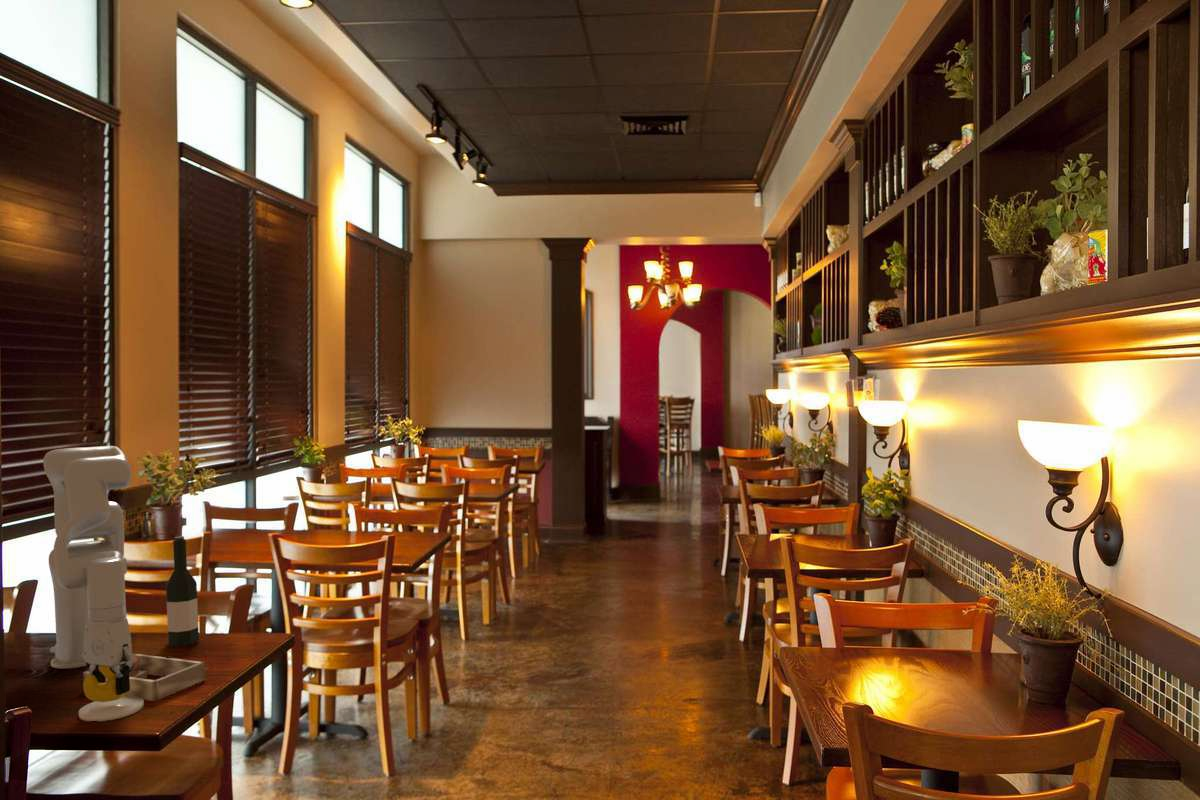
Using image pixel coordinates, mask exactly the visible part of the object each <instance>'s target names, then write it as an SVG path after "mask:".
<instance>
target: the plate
mask: <svg viewBox="0 0 1200 800" xmlns="http://www.w3.org/2000/svg"><path fill="white" fill-rule="evenodd" d="M144 701H145V700H143V699H142V698H141V697H137V696H123V697H121V698H120V699H118V700H115V701H108V702H97V701H92V702H90V703H87V704H85V705H83V706H82V707H81V708H80V709H79V710H78V718H79V720H82V721H85V722H91V721H98V722H107V720H108V721H113V720H117V719H122V718H126V717H128V716H132V715H135V714H136V713H138V712H139V711H142V709H143V708H144V706H145V702H144Z"/></svg>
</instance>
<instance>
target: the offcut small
mask: <svg viewBox="0 0 1200 800" xmlns="http://www.w3.org/2000/svg"><path fill="white" fill-rule="evenodd" d="M137 673H139V665H138V666H137V667H136V668H135V669H133V670H132V671H131V674H129V677H131V676H133V675H135V674H137Z"/></svg>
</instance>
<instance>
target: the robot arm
mask: <svg viewBox="0 0 1200 800" xmlns="http://www.w3.org/2000/svg"><path fill="white" fill-rule="evenodd" d="M42 461H43V468H44V473H45V476H47V478H48V481H49V482H50V484H51V487H52V490H53V495H54V496H53V497H54V498H53V499H54V501H53V503H54V505H53V507H54V515H53V516H54V530H55V534H56V537H55V539H54V544H53V549H52V550H51V551H50V553H49V555H48V567H49V571H50V576H51V581H52V586H53V597H54V598H53V599H54V600H53V601H54V617H55V620H54V621H55V639H56V643H55V645H54V646H52V647H50V648H49V653H53V654H54V655H55V657H54V658H52V659H51V660H50V666H51V667H52V668H54V669H60V670H61V669H77V668H81V667H82V668H83V667H87V668H88V671H89V673H90V674H91V673H92V674H91V675H94V676H95V677H96V679H97V681H98V683H105V676H104V675H103V674H102V673H101V672H100V671H99V668H98V666H99V665H100V666H107V667H114V668H115V671H116V673H117V676H118V677H116V678H115V683H116V695H121V694H123V693H126V692H128V691H129V690H130V680H129V674H131V671H132V669H133V668H134V666H135V664H136V663H137V661H138V659H137V658H136V657H135V655H134V654H135V653H133V648H132V636H131V632H130V631H131V629H130V625H129V621H128V618H127V604H126V603H127V601H126V583H125V582H126V581H125V578H126V574H127V572H128V564H127V558H126V556H125V527H124V526H125V521H124V514H123V513H124V512H123V509H122V507H121V506H120V504H119V503H118V502H116V501H112V500H109V495H108V491H111V490H124V489H126V488H128V487H129V486H130V484H131V482H132V468H131V464H130V462H129V459H128V457H127V456H126V455H125V453H123V451H122V450H121V449H120V448H119V447H118V446H114V445H102V446H101V445H100V446H85V447H84V446H82V447H79V446H78V447H67V448H65V447H64V448H58V449H57V448H56V449H53V450H50V451H48V452H47V453H45V454H44V457H43V460H42ZM100 538H101V539H100ZM102 538H103V539H102ZM92 539H96V540H92ZM82 540H84V541H82ZM85 540H87V541H85ZM73 541H79V542H73ZM70 542H71V543H70ZM121 659H122V662H120V661H121ZM120 665H123V667H124V668H123V669H122V670H121V667H120Z"/></svg>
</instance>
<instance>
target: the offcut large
mask: <svg viewBox="0 0 1200 800" xmlns="http://www.w3.org/2000/svg"><path fill="white" fill-rule="evenodd" d="M131 677H134V678H141V679H147V678H148V674H147V671H139V673H137V674H135V675H133V676H131Z"/></svg>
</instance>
